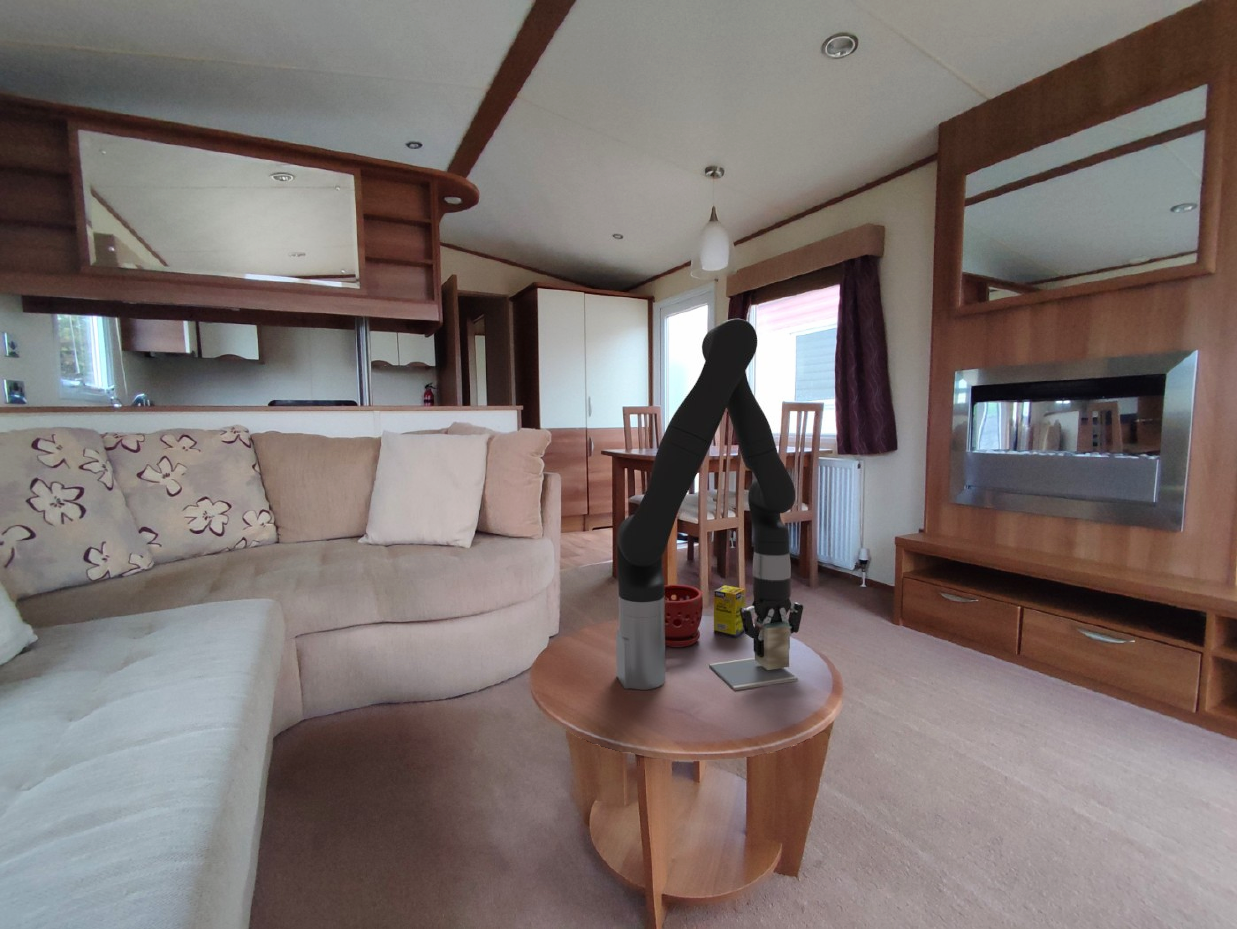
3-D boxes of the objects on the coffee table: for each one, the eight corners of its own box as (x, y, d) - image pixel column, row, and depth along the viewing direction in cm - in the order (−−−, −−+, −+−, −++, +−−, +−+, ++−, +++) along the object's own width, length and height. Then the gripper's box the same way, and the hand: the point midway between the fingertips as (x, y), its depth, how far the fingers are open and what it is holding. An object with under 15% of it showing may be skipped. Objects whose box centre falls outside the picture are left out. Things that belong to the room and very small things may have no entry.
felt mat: (734, 690, 99) (734, 687, 99) (709, 666, 109) (709, 664, 109) (797, 680, 103) (797, 677, 103) (767, 658, 113) (767, 655, 113)
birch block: (767, 670, 104) (767, 626, 104) (754, 660, 109) (754, 618, 108) (789, 666, 105) (789, 623, 105) (775, 657, 110) (775, 615, 110)
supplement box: (735, 638, 125) (735, 594, 124) (713, 633, 128) (713, 590, 128) (745, 631, 130) (745, 588, 129) (723, 626, 133) (723, 584, 133)
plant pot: (646, 631, 131) (646, 584, 130) (698, 630, 130) (698, 583, 130) (649, 652, 117) (649, 600, 117) (707, 651, 117) (706, 599, 117)
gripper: (749, 581, 101) (750, 666, 102) (812, 575, 105) (812, 657, 105) (731, 572, 108) (732, 651, 109) (791, 566, 112) (791, 643, 113)
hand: (771, 654), depth 107 cm, fingers closed on birch block, 5 cm apart
